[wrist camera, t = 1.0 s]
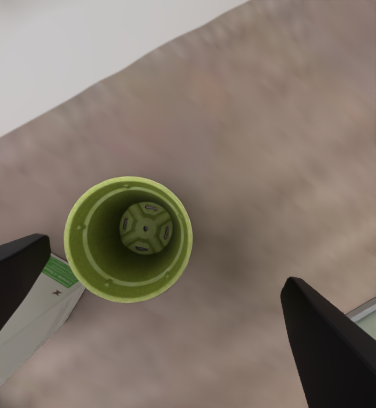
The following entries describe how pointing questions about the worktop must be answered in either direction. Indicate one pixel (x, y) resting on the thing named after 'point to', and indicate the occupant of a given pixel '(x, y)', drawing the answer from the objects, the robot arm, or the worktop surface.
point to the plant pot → (128, 239)
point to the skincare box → (38, 315)
